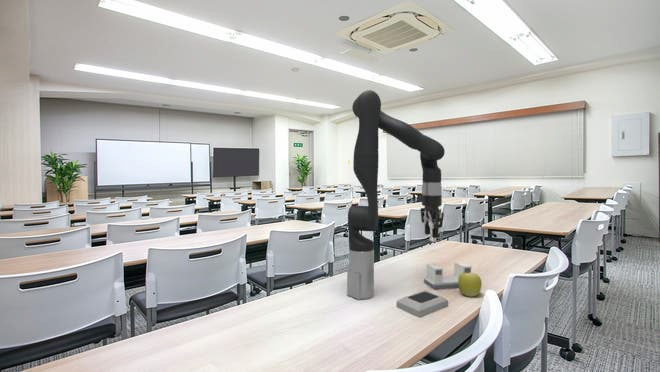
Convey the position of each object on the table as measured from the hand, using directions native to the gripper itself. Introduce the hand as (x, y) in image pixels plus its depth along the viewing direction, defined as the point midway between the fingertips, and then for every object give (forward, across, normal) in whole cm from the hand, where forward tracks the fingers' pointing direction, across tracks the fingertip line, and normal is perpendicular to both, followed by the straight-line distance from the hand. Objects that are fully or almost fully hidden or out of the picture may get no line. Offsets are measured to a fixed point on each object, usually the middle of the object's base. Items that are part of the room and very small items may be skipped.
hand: (431, 235), depth 128 cm
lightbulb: (+3, 0, 0) cm, 3 cm away
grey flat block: (+20, -18, +14) cm, 30 cm away
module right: (+18, -1, -13) cm, 23 cm away
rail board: (+20, -1, -7) cm, 22 cm away
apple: (+20, -12, -9) cm, 25 cm away
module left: (+18, -1, -1) cm, 18 cm away
